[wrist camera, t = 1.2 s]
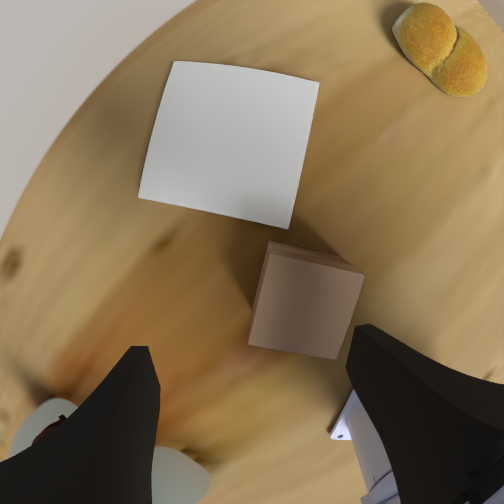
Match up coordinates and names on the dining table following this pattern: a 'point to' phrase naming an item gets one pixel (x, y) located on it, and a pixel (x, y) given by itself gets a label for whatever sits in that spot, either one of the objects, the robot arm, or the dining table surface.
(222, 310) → the dining table surface
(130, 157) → the dining table surface
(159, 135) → the grey tile
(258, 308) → the walnut block
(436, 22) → the bread roll
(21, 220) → the dining table surface
